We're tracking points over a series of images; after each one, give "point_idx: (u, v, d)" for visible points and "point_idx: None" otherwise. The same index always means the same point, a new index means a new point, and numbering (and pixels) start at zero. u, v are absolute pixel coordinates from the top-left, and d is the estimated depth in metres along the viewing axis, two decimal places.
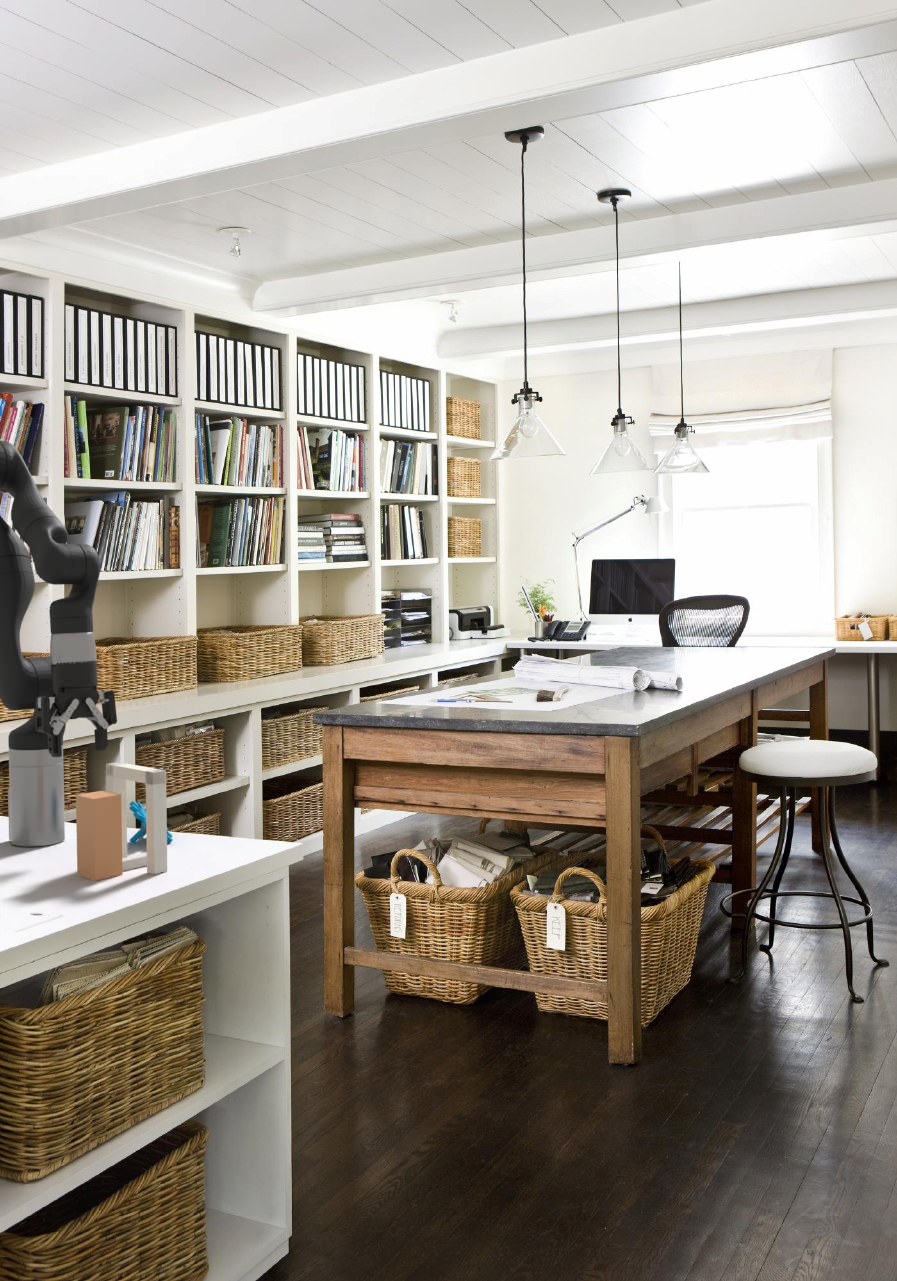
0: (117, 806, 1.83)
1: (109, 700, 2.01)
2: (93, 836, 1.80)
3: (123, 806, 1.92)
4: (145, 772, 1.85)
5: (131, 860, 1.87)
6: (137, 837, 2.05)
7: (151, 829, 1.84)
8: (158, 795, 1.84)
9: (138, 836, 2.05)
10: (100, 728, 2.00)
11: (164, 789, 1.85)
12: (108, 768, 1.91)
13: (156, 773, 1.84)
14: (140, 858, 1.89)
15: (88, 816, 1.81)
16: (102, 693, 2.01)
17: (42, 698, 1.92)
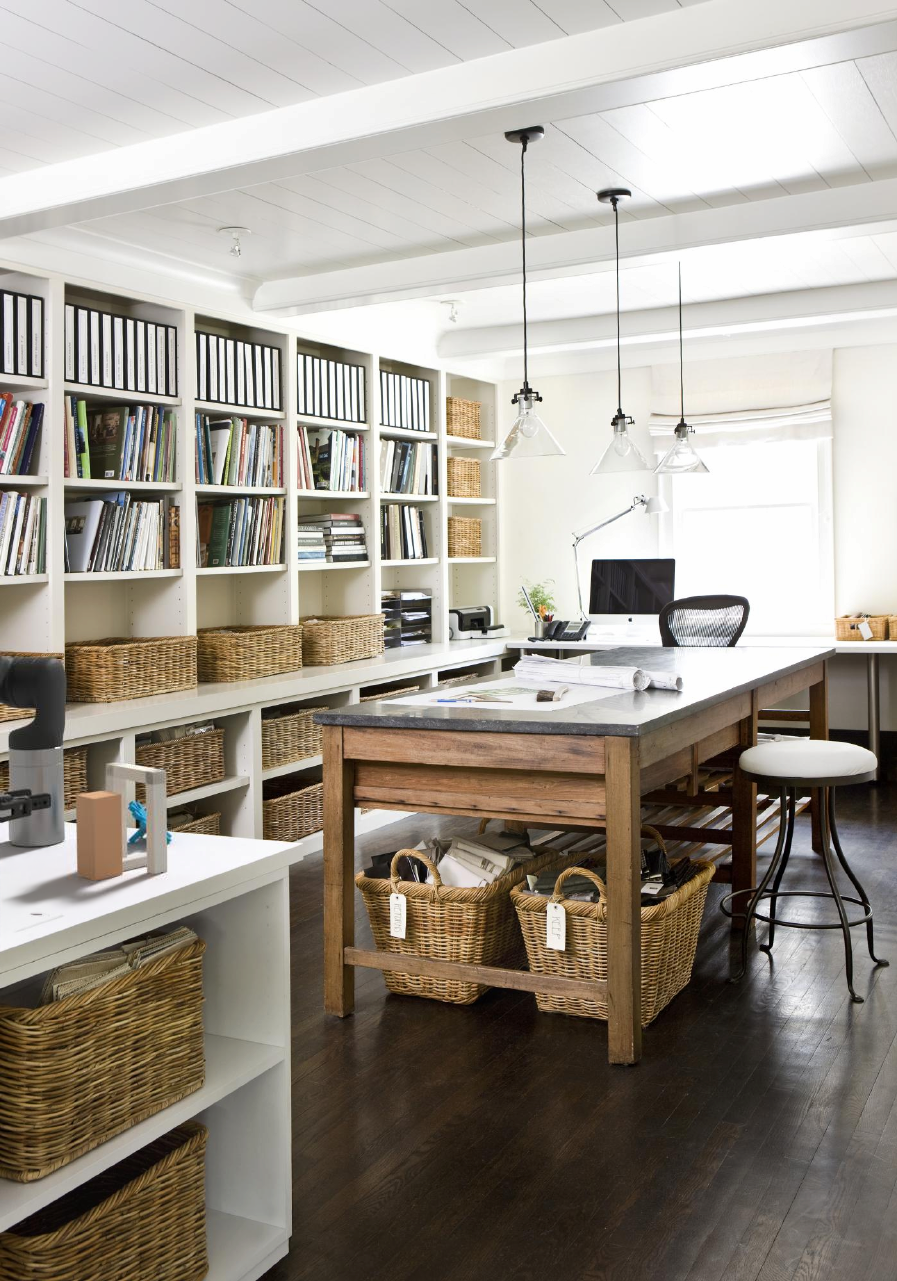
0: (117, 806, 1.83)
1: None
2: (93, 836, 1.80)
3: (123, 806, 1.92)
4: (145, 772, 1.85)
5: (131, 860, 1.87)
6: (136, 837, 2.05)
7: (151, 829, 1.84)
8: (158, 795, 1.84)
9: (137, 836, 2.05)
10: None
11: (164, 789, 1.85)
12: (108, 768, 1.91)
13: (156, 773, 1.84)
14: (140, 858, 1.89)
15: (88, 816, 1.81)
16: None
17: None
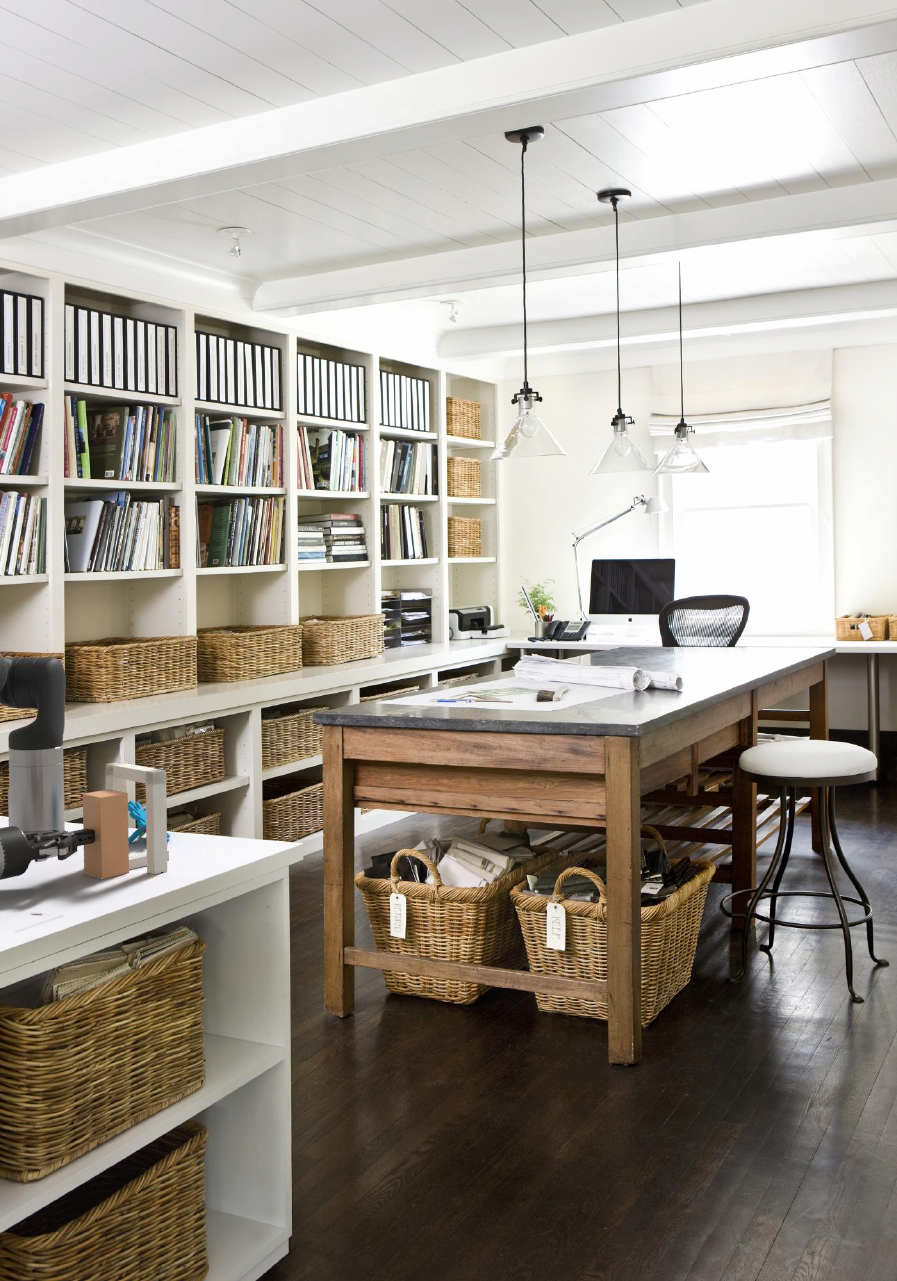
0: (124, 805, 1.84)
1: None
2: (100, 835, 1.81)
3: None
4: (145, 772, 1.85)
5: (137, 858, 1.88)
6: (134, 837, 2.05)
7: (151, 829, 1.84)
8: (158, 795, 1.84)
9: (135, 836, 2.05)
10: None
11: (164, 789, 1.85)
12: (108, 768, 1.91)
13: (156, 773, 1.84)
14: (146, 857, 1.90)
15: (95, 815, 1.82)
16: (53, 854, 1.72)
17: None
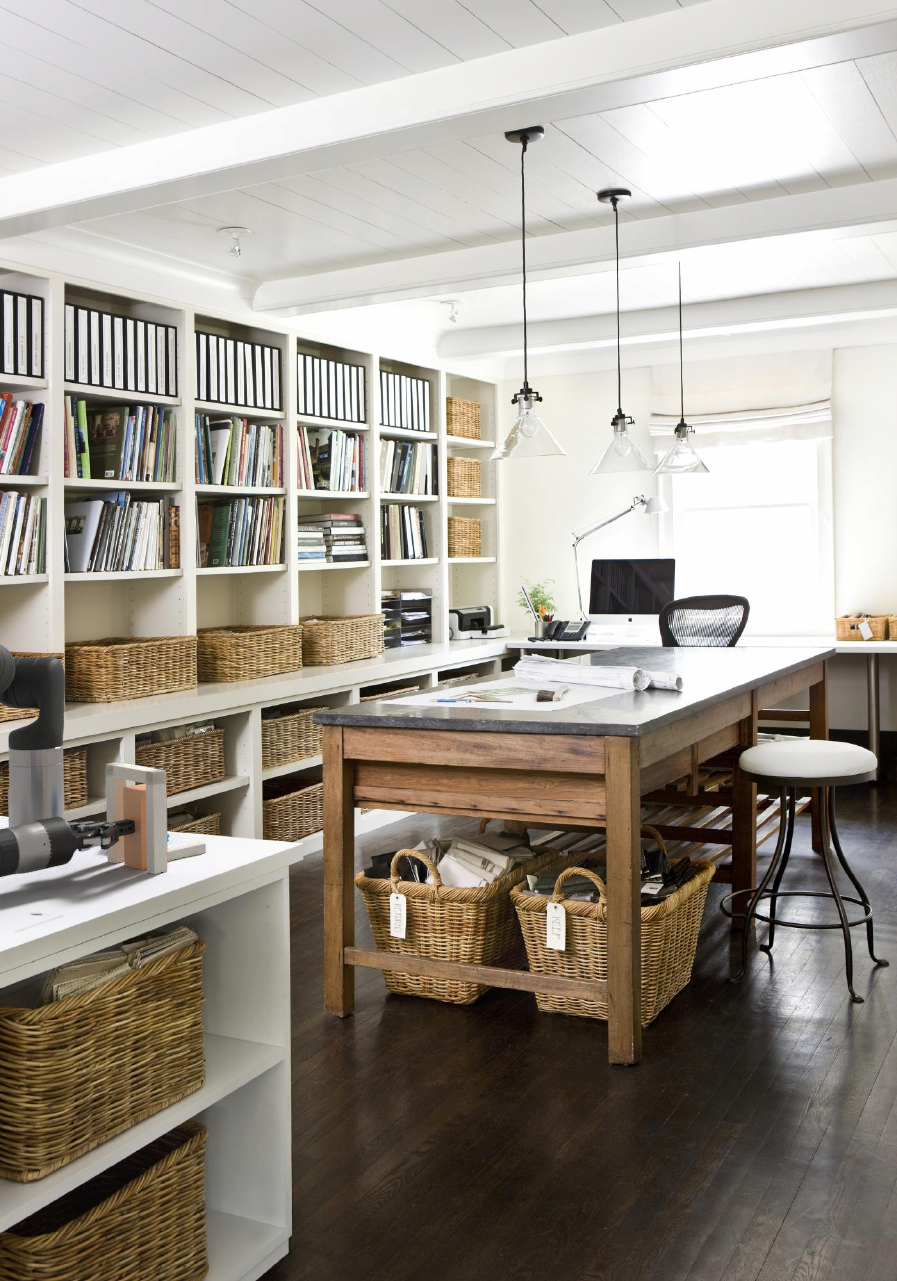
0: None
1: None
2: (140, 827, 1.87)
3: None
4: (145, 772, 1.85)
5: (175, 850, 1.94)
6: None
7: (151, 829, 1.84)
8: (158, 795, 1.84)
9: None
10: None
11: (164, 789, 1.85)
12: (108, 768, 1.91)
13: (156, 773, 1.84)
14: (184, 849, 1.95)
15: (135, 808, 1.87)
16: (96, 844, 1.78)
17: None
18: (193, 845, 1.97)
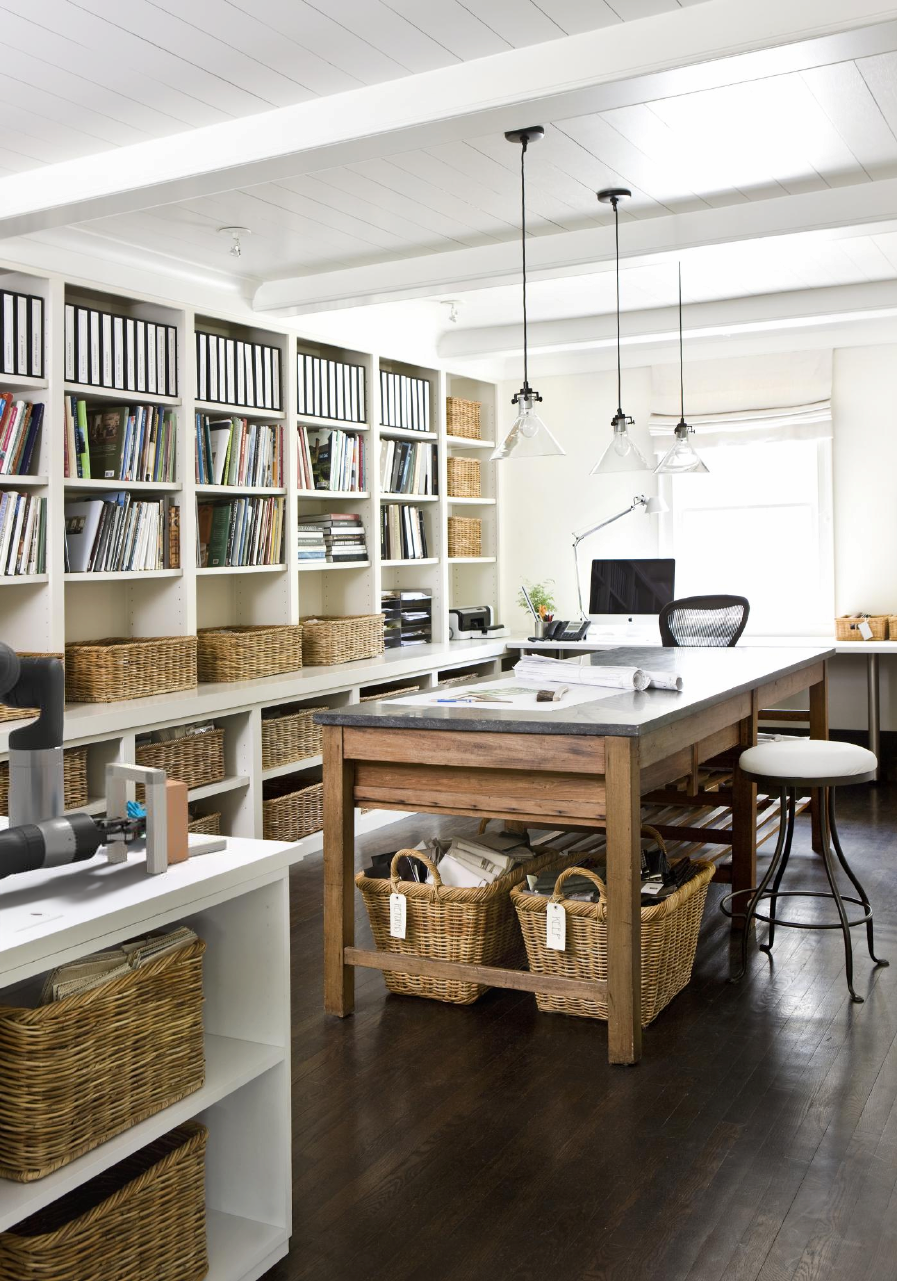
0: (184, 794, 1.93)
1: None
2: None
3: (123, 806, 1.92)
4: (145, 772, 1.85)
5: (196, 846, 1.97)
6: None
7: (151, 829, 1.84)
8: (158, 795, 1.84)
9: None
10: None
11: (164, 789, 1.85)
12: (108, 768, 1.91)
13: (156, 773, 1.84)
14: (205, 844, 1.98)
15: None
16: (119, 839, 1.81)
17: None
18: (214, 841, 2.00)
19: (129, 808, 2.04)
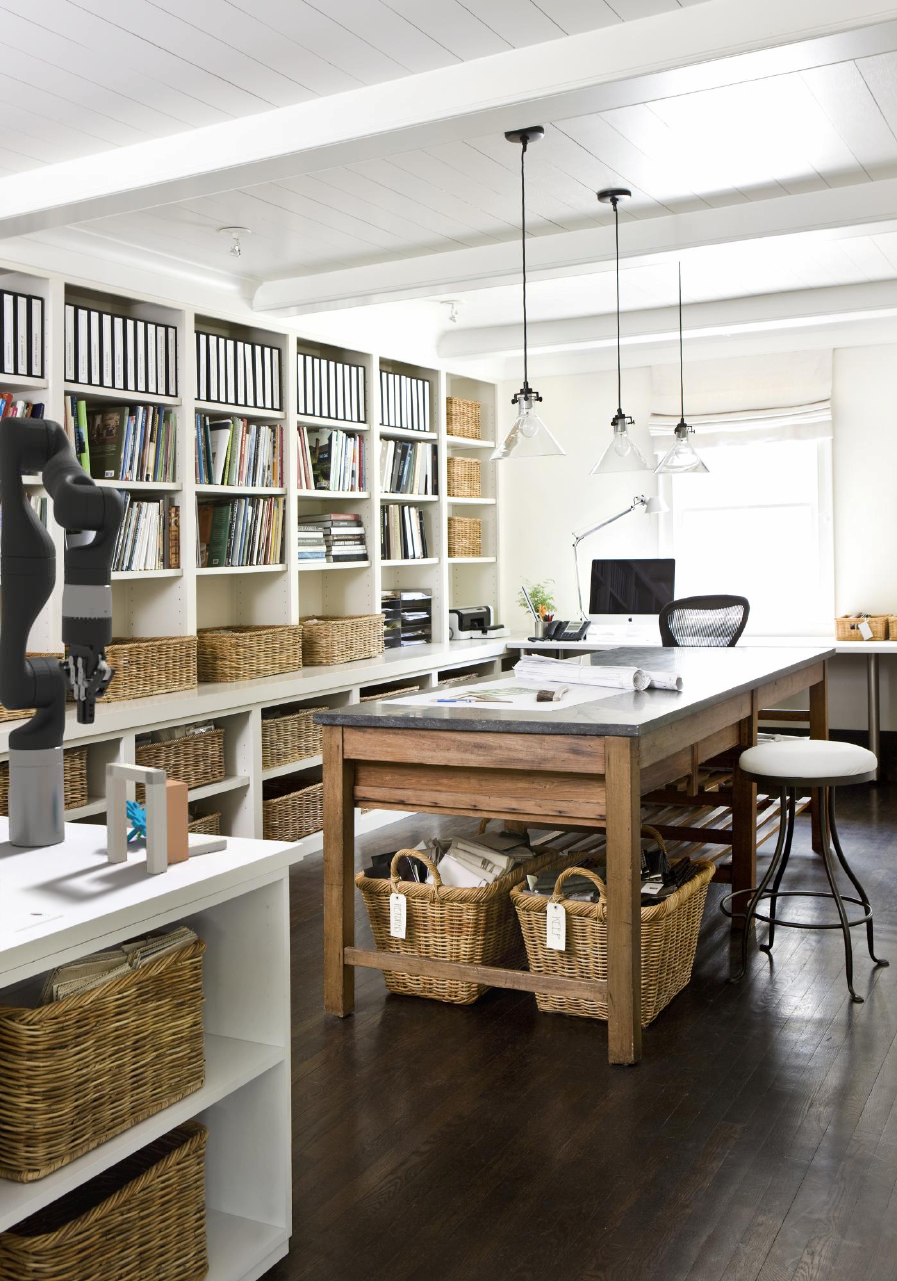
0: (184, 794, 1.93)
1: (95, 674, 1.76)
2: None
3: (123, 806, 1.92)
4: (145, 772, 1.85)
5: (197, 846, 1.97)
6: (131, 836, 2.06)
7: (151, 829, 1.84)
8: (158, 795, 1.84)
9: (132, 835, 2.06)
10: None
11: (164, 789, 1.85)
12: (108, 768, 1.91)
13: (156, 773, 1.84)
14: (205, 844, 1.98)
15: None
16: (100, 664, 1.77)
17: None
18: (214, 841, 2.00)
19: (127, 808, 2.04)
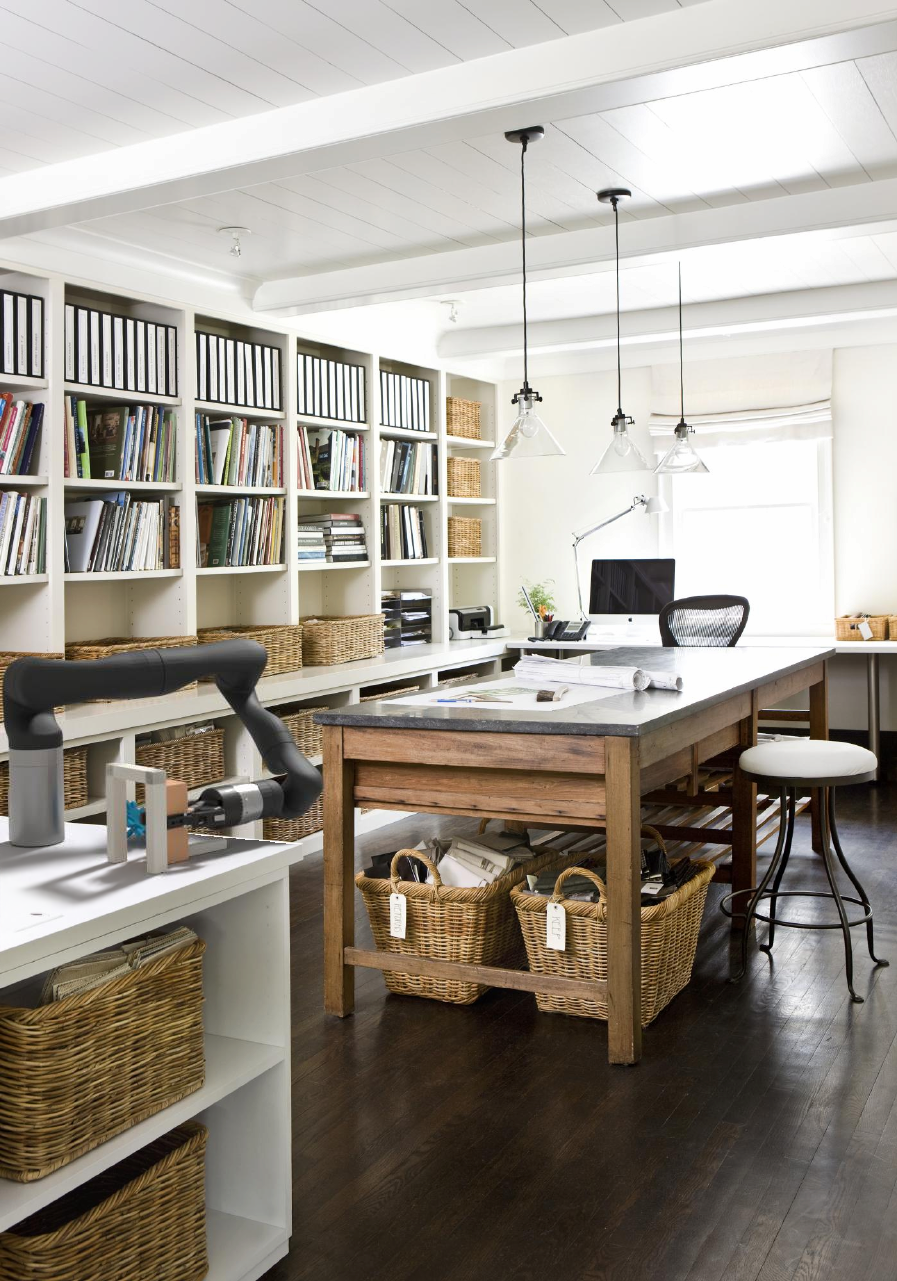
0: (183, 794, 1.93)
1: (213, 810, 1.94)
2: None
3: (123, 806, 1.92)
4: (145, 772, 1.85)
5: (197, 846, 1.97)
6: (127, 836, 2.06)
7: (151, 829, 1.84)
8: (158, 795, 1.84)
9: (128, 835, 2.06)
10: None
11: (164, 789, 1.85)
12: (108, 768, 1.91)
13: (156, 773, 1.84)
14: (205, 844, 1.98)
15: None
16: None
17: None
18: (214, 841, 2.00)
19: None
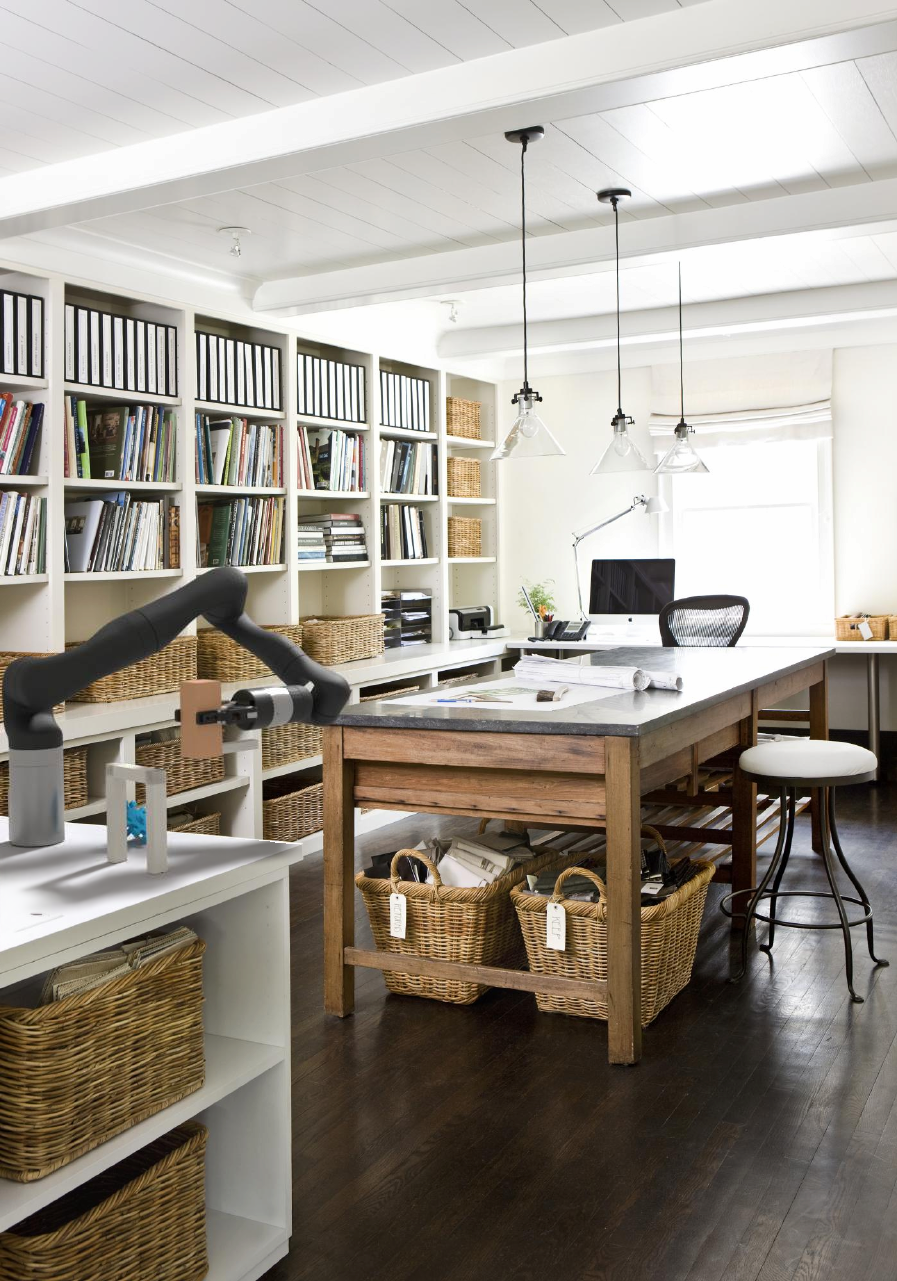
0: (217, 692, 1.98)
1: None
2: None
3: (123, 806, 1.92)
4: (145, 772, 1.85)
5: (230, 744, 2.02)
6: None
7: (151, 829, 1.84)
8: (158, 795, 1.84)
9: None
10: None
11: (164, 789, 1.85)
12: (108, 768, 1.91)
13: (156, 773, 1.84)
14: (238, 743, 2.03)
15: (191, 700, 1.96)
16: None
17: None
18: (246, 741, 2.05)
19: None
